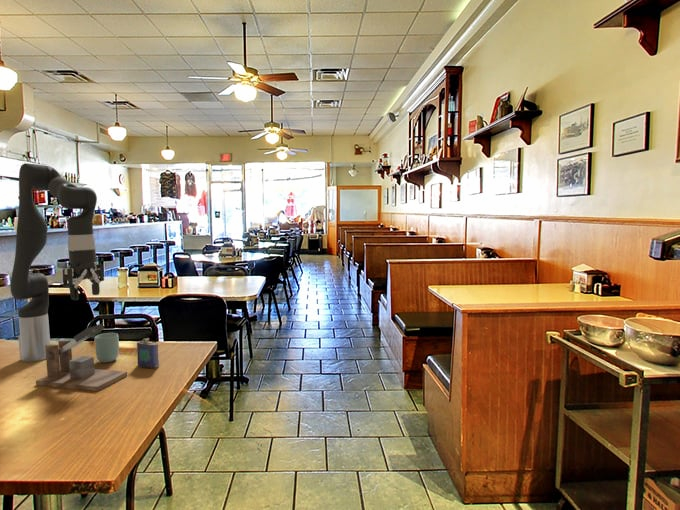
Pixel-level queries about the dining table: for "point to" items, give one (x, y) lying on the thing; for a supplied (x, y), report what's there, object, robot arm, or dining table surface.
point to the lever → (81, 338)
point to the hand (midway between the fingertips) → (85, 297)
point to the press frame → (75, 371)
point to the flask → (147, 354)
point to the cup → (107, 347)
